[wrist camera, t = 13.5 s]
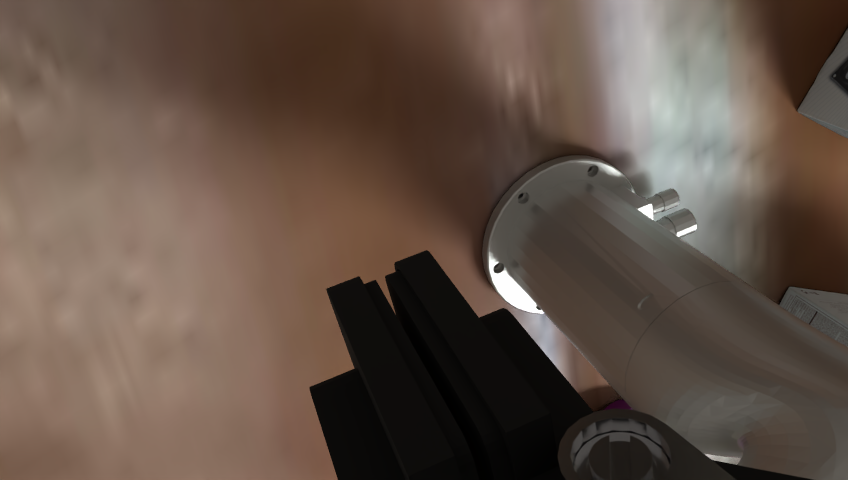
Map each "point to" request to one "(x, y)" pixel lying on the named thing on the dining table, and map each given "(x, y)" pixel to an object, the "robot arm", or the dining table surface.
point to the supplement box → (820, 310)
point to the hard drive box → (830, 92)
